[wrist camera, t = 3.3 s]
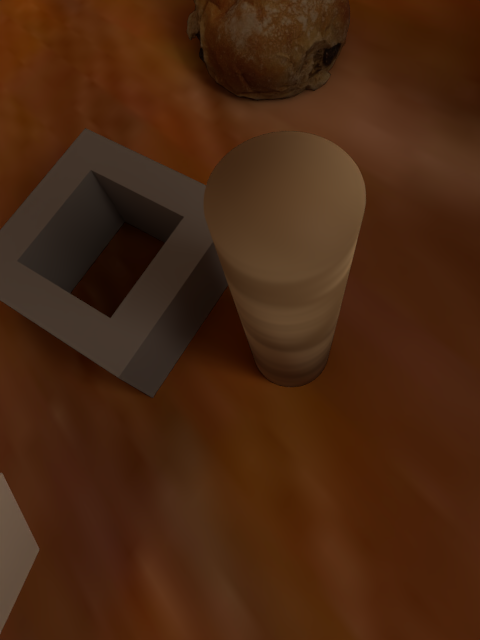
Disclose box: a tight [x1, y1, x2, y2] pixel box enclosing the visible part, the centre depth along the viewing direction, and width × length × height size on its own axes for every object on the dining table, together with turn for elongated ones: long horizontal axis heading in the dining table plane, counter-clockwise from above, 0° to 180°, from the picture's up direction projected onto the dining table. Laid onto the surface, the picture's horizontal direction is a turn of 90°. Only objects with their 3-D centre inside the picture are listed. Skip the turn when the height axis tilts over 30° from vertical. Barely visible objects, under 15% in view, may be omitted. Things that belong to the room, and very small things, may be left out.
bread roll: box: [187, 0, 350, 100], centre depth 30 cm, size 10×10×8 cm
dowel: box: [204, 131, 366, 387], centre depth 18 cm, size 4×4×14 cm
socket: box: [0, 128, 228, 398], centre depth 25 cm, size 10×10×5 cm
